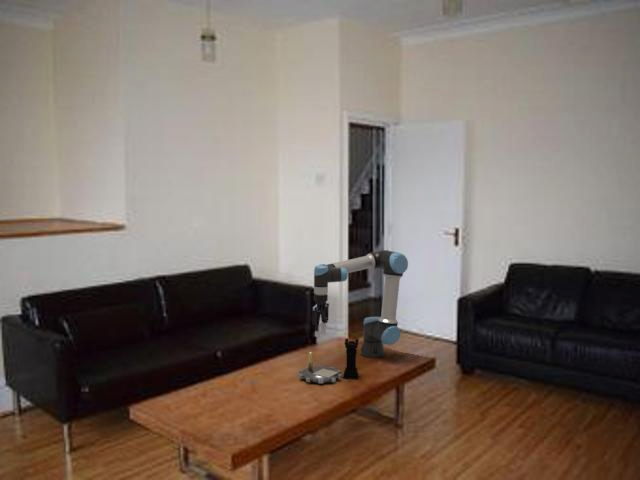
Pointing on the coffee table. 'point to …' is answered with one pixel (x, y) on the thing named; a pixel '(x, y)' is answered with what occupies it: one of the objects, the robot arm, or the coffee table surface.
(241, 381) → the coffee table surface
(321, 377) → the sprocket
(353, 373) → the chess piece
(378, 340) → the robot arm
